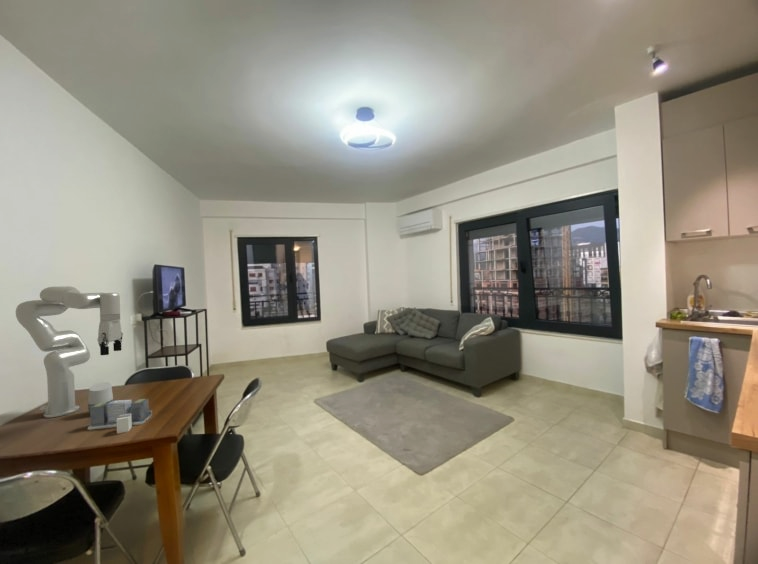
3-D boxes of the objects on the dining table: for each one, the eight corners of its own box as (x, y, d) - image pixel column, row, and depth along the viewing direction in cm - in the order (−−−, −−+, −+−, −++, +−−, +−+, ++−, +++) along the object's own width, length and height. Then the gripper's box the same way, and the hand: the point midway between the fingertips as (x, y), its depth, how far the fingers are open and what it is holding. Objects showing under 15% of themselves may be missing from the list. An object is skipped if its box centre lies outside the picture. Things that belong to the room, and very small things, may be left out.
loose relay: (116, 433, 132) (116, 419, 132) (120, 429, 137) (119, 414, 137) (128, 431, 134) (128, 416, 134) (131, 426, 139) (131, 412, 139)
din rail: (87, 430, 137) (86, 408, 137) (101, 421, 145) (100, 400, 145) (142, 424, 141) (141, 403, 141) (152, 415, 150) (151, 396, 150)
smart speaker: (84, 417, 150) (84, 388, 150) (92, 410, 158) (91, 383, 158) (109, 413, 154) (109, 385, 154) (116, 407, 162) (115, 380, 162)
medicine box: (132, 417, 145) (132, 399, 145) (125, 422, 141) (125, 403, 141) (115, 418, 145) (114, 400, 145) (107, 423, 140) (106, 404, 140)
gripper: (112, 316, 161) (113, 349, 161) (88, 320, 144) (89, 357, 144) (129, 315, 162) (130, 348, 162) (107, 319, 145) (108, 356, 145)
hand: (111, 352), depth 153 cm, fingers open, 9 cm apart
